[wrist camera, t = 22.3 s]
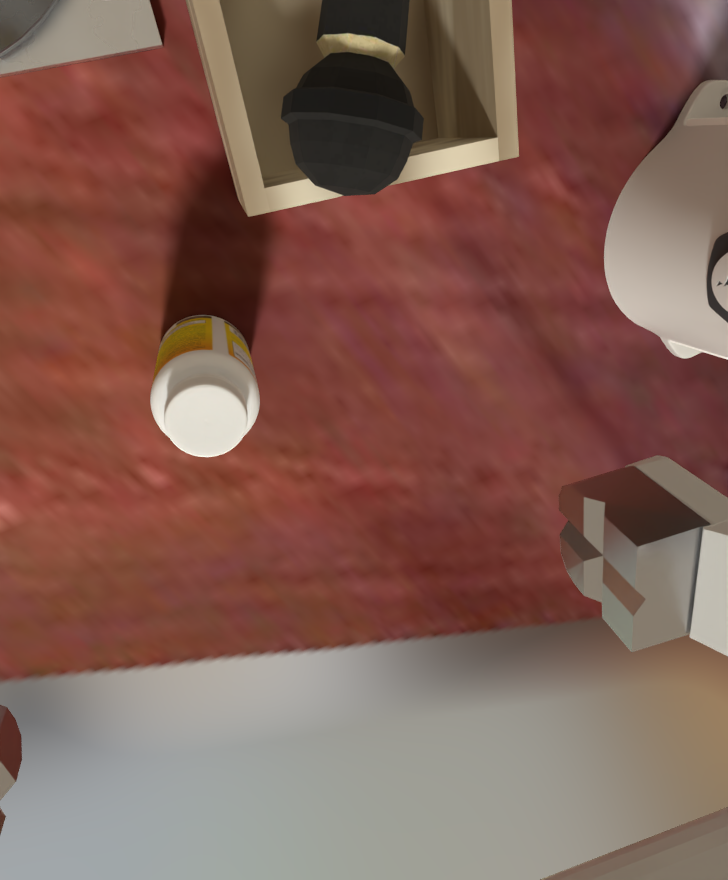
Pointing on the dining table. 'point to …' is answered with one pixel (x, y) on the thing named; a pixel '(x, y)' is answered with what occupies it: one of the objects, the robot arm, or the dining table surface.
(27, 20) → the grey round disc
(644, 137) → the dining table surface
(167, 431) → the supplement bottle
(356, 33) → the microphone
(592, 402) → the dining table surface
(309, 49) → the open wooden box
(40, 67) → the base
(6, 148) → the dining table surface
